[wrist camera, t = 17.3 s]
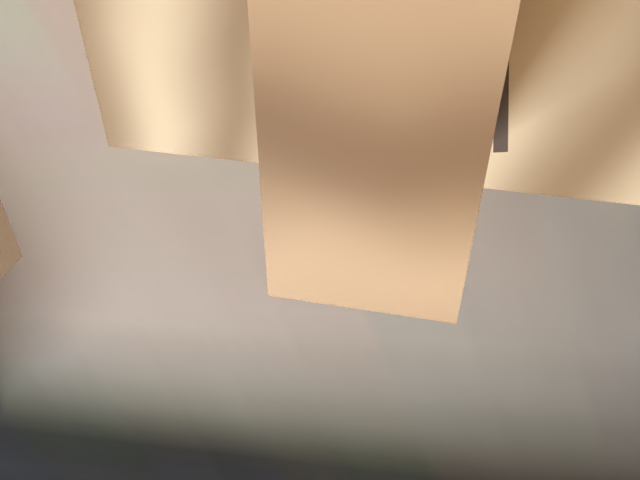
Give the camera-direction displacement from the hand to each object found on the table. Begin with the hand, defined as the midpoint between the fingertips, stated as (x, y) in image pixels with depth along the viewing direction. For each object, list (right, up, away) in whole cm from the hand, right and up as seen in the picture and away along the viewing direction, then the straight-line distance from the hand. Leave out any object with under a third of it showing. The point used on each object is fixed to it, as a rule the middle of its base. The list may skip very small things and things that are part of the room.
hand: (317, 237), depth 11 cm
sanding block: (+3, +7, +8) cm, 11 cm away
